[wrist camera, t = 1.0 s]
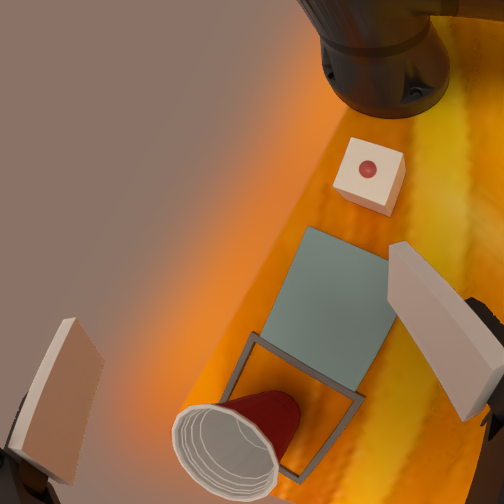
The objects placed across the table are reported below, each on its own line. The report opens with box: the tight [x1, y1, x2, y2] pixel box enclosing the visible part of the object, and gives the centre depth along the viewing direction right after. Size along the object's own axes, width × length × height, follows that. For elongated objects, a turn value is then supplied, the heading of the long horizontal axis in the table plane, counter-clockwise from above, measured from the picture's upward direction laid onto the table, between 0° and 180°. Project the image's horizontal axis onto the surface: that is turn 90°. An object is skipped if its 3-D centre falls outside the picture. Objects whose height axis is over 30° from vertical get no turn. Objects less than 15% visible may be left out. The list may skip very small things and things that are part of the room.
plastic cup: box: [172, 391, 300, 502], centre depth 27 cm, size 11×11×12 cm
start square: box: [219, 331, 365, 485], centre depth 32 cm, size 15×15×1 cm
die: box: [333, 137, 406, 217], centre depth 27 cm, size 5×5×5 cm
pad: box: [260, 226, 397, 392], centre depth 30 cm, size 13×12×1 cm
